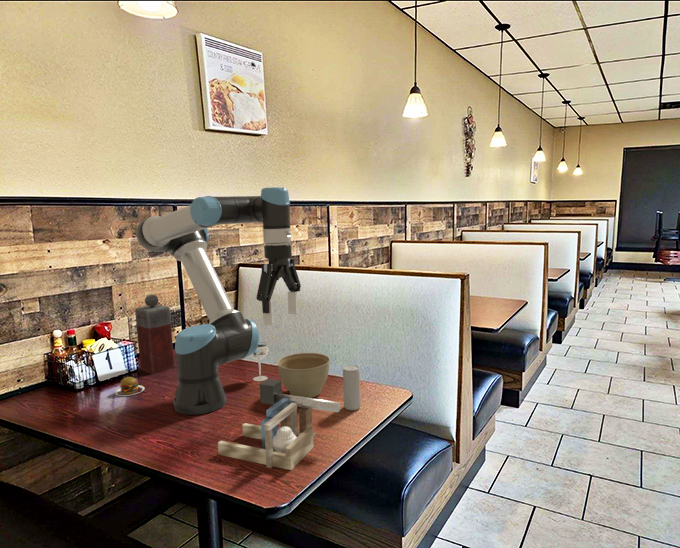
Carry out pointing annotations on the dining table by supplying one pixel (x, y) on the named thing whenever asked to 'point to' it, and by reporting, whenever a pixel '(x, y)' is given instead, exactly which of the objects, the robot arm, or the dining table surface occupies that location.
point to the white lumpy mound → (283, 439)
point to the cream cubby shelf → (300, 420)
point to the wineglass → (260, 358)
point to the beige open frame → (268, 456)
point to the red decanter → (154, 336)
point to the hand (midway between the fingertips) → (281, 319)
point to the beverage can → (351, 387)
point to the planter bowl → (304, 373)
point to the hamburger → (129, 386)
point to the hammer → (287, 403)
